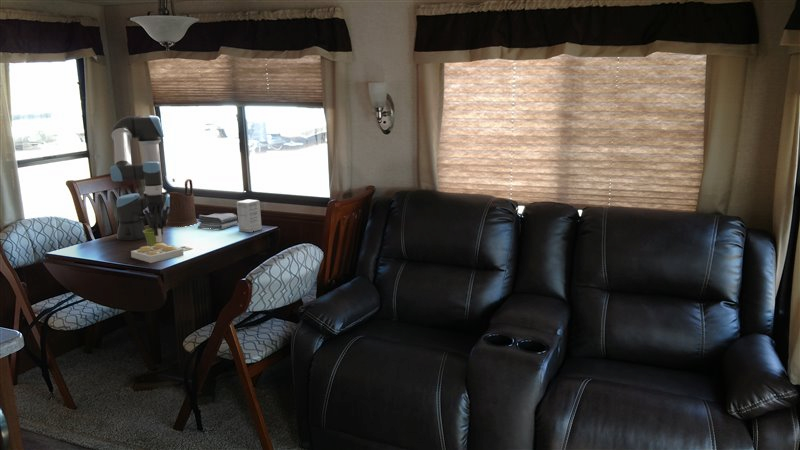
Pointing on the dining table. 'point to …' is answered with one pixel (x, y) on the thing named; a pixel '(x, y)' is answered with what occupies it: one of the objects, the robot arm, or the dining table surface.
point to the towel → (217, 221)
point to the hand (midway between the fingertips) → (159, 241)
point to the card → (185, 248)
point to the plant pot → (150, 237)
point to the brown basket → (182, 208)
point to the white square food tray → (156, 257)
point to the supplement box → (249, 215)
